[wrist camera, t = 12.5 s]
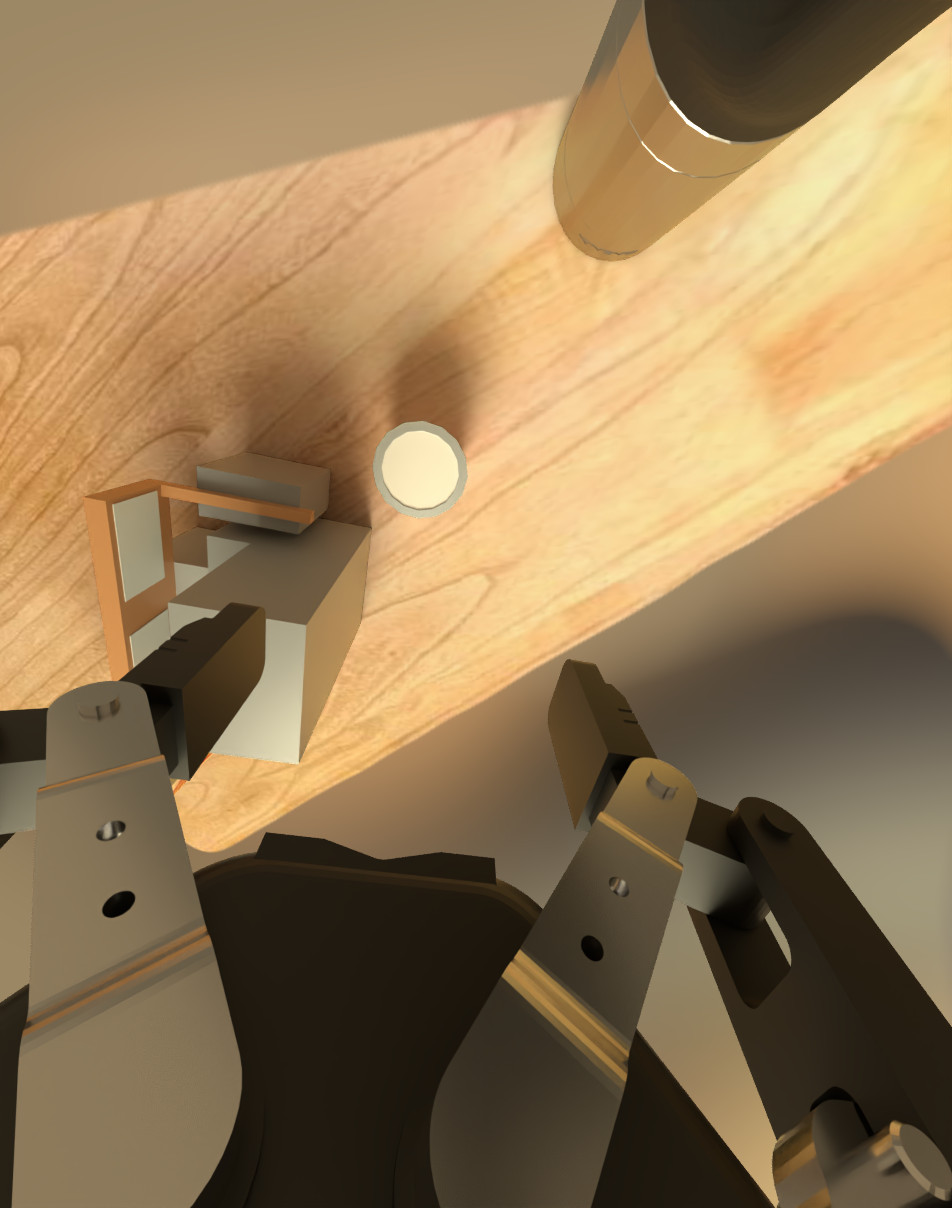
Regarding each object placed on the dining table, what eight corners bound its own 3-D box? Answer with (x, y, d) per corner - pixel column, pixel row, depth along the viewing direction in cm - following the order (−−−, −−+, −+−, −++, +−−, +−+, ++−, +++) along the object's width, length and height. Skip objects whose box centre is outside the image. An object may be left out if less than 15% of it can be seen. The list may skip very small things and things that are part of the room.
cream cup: (374, 475, 39) (357, 491, 33) (407, 399, 37) (396, 401, 30) (444, 512, 41) (441, 534, 34) (481, 442, 38) (485, 451, 32)
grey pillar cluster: (191, 440, 37) (-39, 481, 20) (377, 478, 39) (310, 545, 22) (201, 635, 45) (42, 784, 28) (356, 660, 47) (295, 814, 30)
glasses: (148, 478, 31) (81, 496, 26) (314, 510, 32) (284, 534, 27) (166, 670, 38) (117, 716, 32) (303, 690, 39) (278, 738, 33)
